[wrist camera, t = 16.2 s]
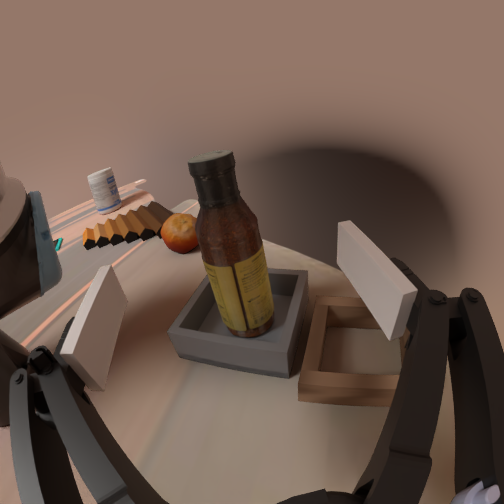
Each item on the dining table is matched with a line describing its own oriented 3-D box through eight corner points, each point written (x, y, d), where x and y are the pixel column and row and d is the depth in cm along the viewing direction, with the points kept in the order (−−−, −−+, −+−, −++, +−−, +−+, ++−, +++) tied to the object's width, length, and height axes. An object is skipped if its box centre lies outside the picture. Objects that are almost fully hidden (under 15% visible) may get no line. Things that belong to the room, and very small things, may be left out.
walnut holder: (298, 400, 23) (297, 383, 22) (316, 316, 33) (316, 295, 31) (416, 405, 19) (428, 387, 18) (408, 320, 29) (414, 299, 27)
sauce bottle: (273, 302, 35) (252, 142, 25) (278, 337, 30) (254, 153, 20) (223, 308, 35) (186, 154, 25) (220, 344, 30) (170, 168, 20)
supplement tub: (122, 209, 86) (110, 169, 78) (97, 218, 83) (84, 178, 75) (122, 202, 93) (112, 165, 86) (100, 210, 91) (89, 174, 83)
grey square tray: (179, 357, 30) (166, 331, 28) (220, 290, 40) (213, 265, 38) (288, 378, 26) (286, 352, 24) (308, 297, 36) (307, 270, 34)
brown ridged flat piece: (190, 233, 61) (159, 209, 79) (187, 219, 59) (157, 199, 78) (89, 277, 50) (85, 240, 69) (82, 264, 48) (81, 230, 67)
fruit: (180, 228, 59) (185, 201, 53) (205, 250, 57) (212, 224, 51) (152, 245, 54) (153, 217, 48) (176, 270, 52) (180, 244, 46)
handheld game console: (26, 257, 67) (25, 253, 67) (63, 239, 73) (62, 236, 72) (20, 270, 59) (18, 266, 59) (59, 251, 65) (57, 247, 65)
